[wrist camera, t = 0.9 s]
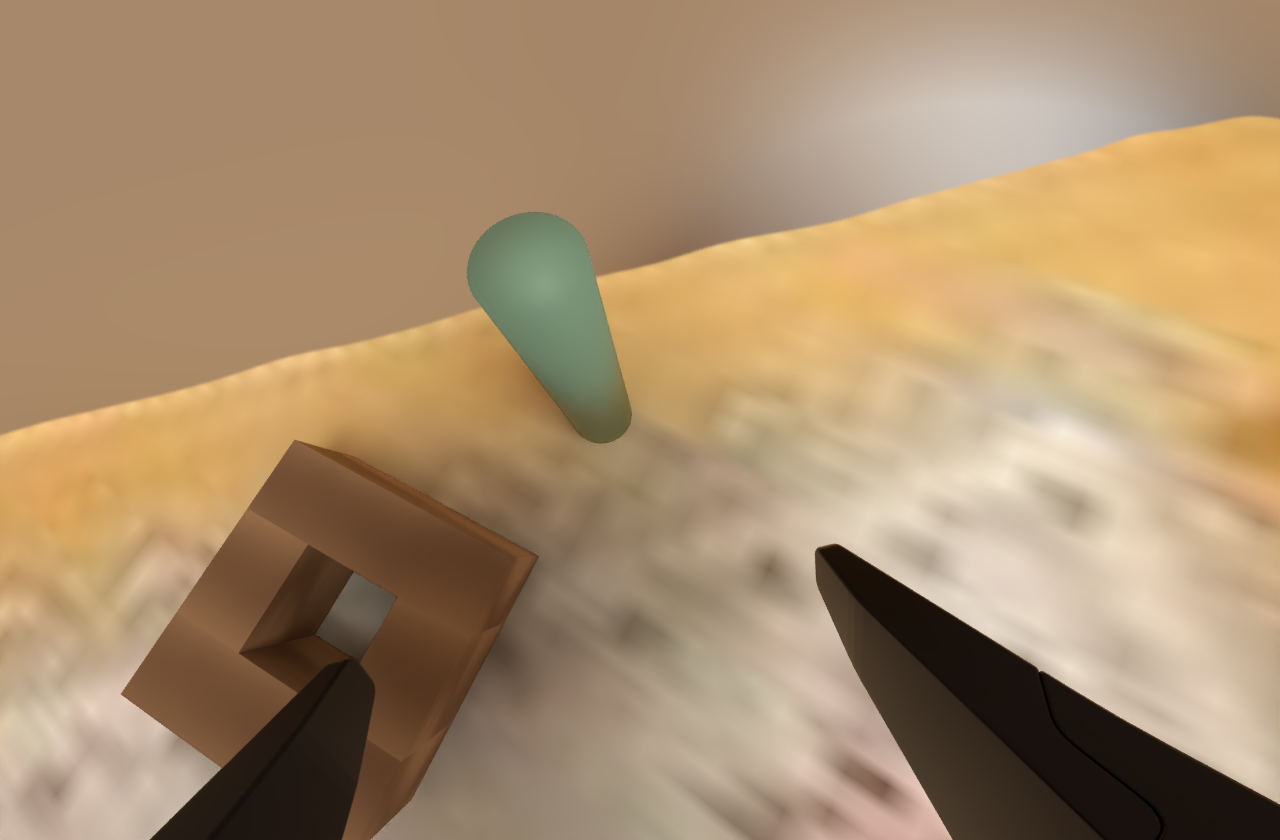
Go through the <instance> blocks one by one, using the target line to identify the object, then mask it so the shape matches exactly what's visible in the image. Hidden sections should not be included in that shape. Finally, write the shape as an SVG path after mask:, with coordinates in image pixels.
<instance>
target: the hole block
mask: <svg viewBox="0 0 1280 840" xmlns="http://www.w3.org/2000/svg"><path fill="white" fill-rule="evenodd" d="M538 557H539V556H537V555H535V554H533V553H531V552H529V551H527V550H526V549H524V548H522V547H520V546H518V545H516V544H514V543H513V542H511V541H509V540H507V539H505V538H503V537H501V536H500V535H498V534H496V533H494V532H492V531H490V530H488V529H487V528H485V527H483V526H481V525H479V524H477V523H475V522H474V521H472V520H470V519H468V518H466V517H464V516H462V515H461V514H459V513H457V512H455V511H453V510H451V509H450V508H448V507H446V506H444V505H442V504H440V503H438V502H437V501H435V500H433V499H431V498H429V497H427V496H425V495H424V494H422V493H420V492H418V491H416V490H414V489H412V488H411V487H409V486H407V485H405V484H403V483H401V482H399V481H398V480H396V479H394V478H392V477H390V476H388V475H386V474H385V473H383V472H381V471H379V470H377V469H375V468H373V467H372V466H370V465H368V464H366V463H364V462H362V461H360V460H359V459H357V458H355V457H352V456H348V455H345V454H341V453H338V452H335V451H331V450H328V449H324V448H321V447H318V446H314V445H311V444H307V443H304V442H301V441H297V440H294V441H293V443H292V444H291V446H290V447H289V449H288V450H287V452H286V453H285V455H284V456H283V457H282V459H281V460H280V462H279V463H278V465H277V466H276V468H275V469H274V471H273V472H272V474H271V475H270V476H269V478H268V479H267V481H266V482H265V484H264V485H263V487H262V488H261V490H260V491H259V493H258V494H257V495H256V497H255V498H254V500H253V501H252V503H251V504H250V506H249V507H248V509H247V510H246V512H245V513H244V515H243V516H242V517H241V519H240V520H239V522H238V523H237V525H236V526H235V528H234V529H233V531H232V532H231V534H230V535H229V536H228V538H227V539H226V541H225V542H224V544H223V545H222V547H221V548H220V550H219V551H218V553H217V554H216V555H215V557H214V558H213V560H212V561H211V563H210V564H209V566H208V567H207V569H206V570H205V572H204V573H203V575H202V576H201V577H200V579H199V580H198V582H197V583H196V585H195V586H194V588H193V589H192V591H191V592H190V594H189V595H188V596H187V598H186V599H185V601H184V602H183V604H182V605H181V607H180V608H179V610H178V611H177V613H176V614H175V616H174V617H173V618H172V620H171V621H170V623H169V624H168V626H167V627H166V629H165V630H164V632H163V633H162V635H161V636H160V637H159V639H158V640H157V642H156V643H155V645H154V646H153V648H152V649H151V651H150V652H149V654H148V655H147V656H146V658H145V659H144V661H143V662H142V664H141V665H140V667H139V668H138V670H137V671H136V673H135V674H134V676H133V677H132V678H131V680H130V681H129V683H128V684H127V686H126V687H125V689H124V690H123V692H122V693H121V695H122V696H124V697H125V698H126V699H128V700H129V701H131V702H132V703H133V704H135V705H136V706H137V707H139V708H140V709H142V710H143V711H144V712H146V713H147V714H148V715H150V716H151V717H153V718H154V719H155V720H157V721H158V722H159V723H161V724H162V725H164V726H165V727H166V728H168V729H169V730H170V731H172V732H173V733H175V734H176V735H177V736H179V737H180V738H181V739H183V740H184V741H186V742H187V743H188V744H190V745H191V746H192V747H194V748H195V749H196V750H198V751H199V752H201V753H202V754H203V755H205V756H206V757H207V758H209V759H210V760H212V761H213V762H214V763H216V764H217V765H218V766H220V767H221V768H223V767H224V766H225V765H226V764H227V763H228V762H229V761H230V760H231V759H232V758H233V757H234V756H235V755H236V754H237V753H238V752H239V751H240V750H241V749H242V748H243V747H244V746H245V745H246V744H247V743H248V742H249V741H250V740H251V739H252V738H253V737H254V736H255V735H256V734H257V733H258V732H259V731H260V730H261V729H262V728H263V727H264V726H265V725H266V724H267V723H268V722H269V721H270V720H271V719H272V718H273V717H274V716H275V715H276V714H277V713H278V712H279V711H280V710H281V709H282V708H283V707H284V706H285V705H286V704H287V703H288V702H289V701H290V700H291V699H292V698H293V697H294V696H295V695H296V694H297V693H298V692H299V691H300V690H301V689H302V688H303V687H304V686H305V685H306V684H307V683H308V682H309V681H310V680H311V679H312V678H313V677H314V676H315V675H316V674H317V673H319V672H320V671H321V670H322V669H323V668H324V667H325V666H326V665H327V664H328V663H330V662H332V661H335V660H339V659H343V658H347V657H348V656H347V655H345V654H344V653H342V652H341V651H339V650H337V649H336V648H334V647H333V646H331V645H330V644H328V643H326V642H325V641H323V640H322V639H320V638H318V637H317V636H315V633H316V632H317V630H318V628H319V627H320V625H321V623H322V622H323V620H324V619H325V617H326V615H327V614H328V612H329V610H330V609H331V607H332V605H333V604H334V602H335V601H336V599H337V597H338V596H339V594H340V592H341V591H342V589H343V587H344V586H345V584H346V583H347V581H348V579H349V578H350V576H351V574H352V573H353V571H354V572H356V573H357V574H359V575H361V576H362V577H364V578H366V579H368V580H369V581H371V582H373V583H374V584H376V585H378V586H379V587H381V588H383V589H384V590H386V591H388V592H389V593H391V594H393V595H395V596H396V597H398V598H397V600H396V601H395V603H394V605H393V607H392V608H391V610H390V612H389V614H388V615H387V617H386V619H385V620H384V622H383V624H382V626H381V627H380V629H379V631H378V632H377V634H376V636H375V638H374V639H373V641H372V643H371V644H370V646H369V648H368V650H367V651H366V653H365V655H364V657H363V658H362V660H361V662H360V664H361V665H362V667H363V668H364V669H365V671H366V672H367V673H368V674H369V676H370V677H371V678H372V680H373V681H374V684H375V689H376V691H375V700H374V705H373V710H372V715H371V720H370V726H369V731H368V736H367V741H366V746H365V751H364V757H363V762H362V767H361V772H360V776H359V781H358V785H357V789H356V793H355V796H354V800H353V804H352V807H351V811H350V814H349V818H348V821H347V825H346V828H345V832H344V835H343V839H342V840H370V839H371V838H372V837H373V836H374V835H375V834H376V833H377V832H378V831H379V830H380V829H382V828H383V827H384V826H385V825H386V824H387V823H388V822H389V821H390V820H391V819H392V818H393V817H394V816H395V815H396V814H397V813H398V812H399V811H400V810H401V809H402V808H403V807H404V806H405V805H406V804H407V803H408V802H409V801H410V800H411V799H412V797H413V795H414V794H415V792H416V790H417V788H418V786H419V784H420V782H421V780H422V778H423V776H424V774H425V773H426V771H427V769H428V767H429V765H430V763H431V761H432V759H433V757H434V755H435V753H436V752H437V750H438V748H439V746H440V744H441V742H442V740H443V738H444V736H445V734H446V732H447V731H448V729H449V727H450V725H451V723H452V721H453V719H454V717H455V715H456V713H457V711H458V710H459V708H460V706H461V704H462V702H463V700H464V698H465V696H466V694H467V692H468V690H469V689H470V687H471V685H472V683H473V681H474V679H475V677H476V675H477V673H478V671H479V669H480V668H481V666H482V664H483V662H484V660H485V658H486V656H487V654H488V652H489V650H490V648H491V647H492V645H493V643H494V641H495V639H496V637H497V635H498V633H499V631H500V629H501V627H502V626H503V624H504V622H505V620H506V618H507V616H508V614H509V612H510V610H511V608H512V606H513V605H514V603H515V601H516V599H517V597H518V595H519V593H520V591H521V589H522V587H523V585H524V584H525V582H526V580H527V578H528V576H529V574H530V572H531V570H532V568H533V566H534V564H535V563H536V561H537V559H538Z"/></svg>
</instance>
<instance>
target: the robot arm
mask: <svg viewBox="0 0 1280 840" xmlns="http://www.w3.org/2000/svg"><path fill="white" fill-rule="evenodd" d="M815 568H816V582H817V586H818V588H819V591H820V593H821V596H822V598H823V600H824V602H825V605H826V607H827V609H828V611H829V614H830V616H831V618H832V620H833V622H834V625H835V627H836V629H837V631H838V634H839V636H840V638H841V640H842V643H843V645H844V647H845V649H846V652H847V654H848V656H849V658H850V660H851V662H852V665H853V667H854V669H855V671H856V672H857V674H858V676H859V678H860V680H861V682H862V683H863V685H864V687H865V688H866V690H867V692H868V694H869V695H870V697H871V699H872V701H873V702H874V704H875V706H876V708H877V709H878V711H879V713H880V714H881V716H882V718H883V720H884V721H885V723H886V725H887V727H888V728H889V730H890V732H891V734H892V735H893V737H894V739H895V740H896V742H897V744H898V746H899V747H900V749H901V751H902V753H903V754H904V756H905V758H906V760H907V761H908V763H909V765H910V766H911V768H912V770H913V772H914V773H915V775H916V777H917V779H918V780H919V782H920V784H921V786H922V787H923V789H924V791H925V792H926V794H927V796H928V798H929V799H930V801H931V803H932V805H933V806H934V808H935V810H936V812H937V813H938V815H939V817H940V818H941V820H942V822H943V824H944V825H945V827H946V829H947V831H948V832H949V834H950V836H951V838H952V839H953V840H1280V804H1278V803H1276V802H1274V801H1272V800H1270V799H1269V798H1267V797H1265V796H1263V795H1261V794H1259V793H1257V792H1256V791H1254V790H1252V789H1250V788H1248V787H1246V786H1244V785H1243V784H1241V783H1239V782H1237V781H1235V780H1233V779H1231V778H1230V777H1228V776H1226V775H1224V774H1222V773H1220V772H1218V771H1217V770H1215V769H1213V768H1211V767H1209V766H1207V765H1205V764H1204V763H1202V762H1200V761H1198V760H1196V759H1194V758H1192V757H1191V756H1189V755H1187V754H1185V753H1183V752H1181V751H1179V750H1178V749H1176V748H1174V747H1172V746H1170V745H1168V744H1167V743H1165V742H1163V741H1161V740H1159V739H1158V738H1156V737H1154V736H1152V735H1150V734H1149V733H1147V732H1145V731H1143V730H1141V729H1140V728H1138V727H1136V726H1134V725H1133V724H1131V723H1129V722H1127V721H1125V720H1124V719H1122V718H1120V717H1118V716H1116V715H1115V714H1113V713H1111V712H1110V711H1108V710H1106V709H1105V708H1103V707H1101V706H1100V705H1098V704H1096V703H1095V702H1093V701H1091V700H1090V699H1088V698H1086V697H1085V696H1083V695H1081V694H1080V693H1078V692H1076V691H1075V690H1073V689H1071V688H1070V687H1068V686H1066V685H1065V684H1063V683H1062V682H1060V681H1058V680H1057V679H1055V678H1054V677H1052V676H1050V675H1049V674H1047V673H1046V672H1044V671H1040V672H1039V671H1038V669H1037V667H1035V666H1034V665H1032V664H1031V663H1029V662H1027V661H1026V660H1024V659H1023V658H1021V657H1019V656H1018V655H1016V654H1015V653H1013V652H1011V651H1010V650H1008V649H1007V648H1005V647H1003V646H1002V645H1000V644H999V643H997V642H995V641H994V640H992V639H990V638H989V637H987V636H986V635H984V634H982V633H981V632H979V631H978V630H976V629H974V628H973V627H971V626H970V625H968V624H966V623H965V622H963V621H962V620H960V619H958V618H957V617H955V616H953V615H952V614H950V613H949V612H947V611H945V610H944V609H942V608H941V607H939V606H937V605H936V604H934V603H933V602H931V601H929V600H928V599H926V598H925V597H923V596H921V595H920V594H918V593H916V592H915V591H913V590H912V589H910V588H908V587H907V586H905V585H904V584H902V583H900V582H899V581H897V580H896V579H894V578H892V577H891V576H889V575H888V574H886V573H884V572H883V571H881V570H879V569H878V568H876V567H875V566H873V565H871V564H870V563H868V562H867V561H865V560H863V559H862V558H860V557H859V556H857V555H855V554H854V553H852V552H850V551H849V550H847V549H846V548H844V547H842V546H841V545H838V544H830V545H826V546H822V547H818V548H817V549H816V551H815ZM375 691H376V689H375V684H374V681H373V680H372V678H371V677H370V676H369V674H368V673H367V672H366V671H365V669H364V668H363V667H362V665H361V664H360V663H359V661H358V660H357V659H356V658H353V657H347V658H343V659H339V660H335V661H332V662H330V663H328V664H327V665H326V666H325V667H324V668H323V669H322V670H321V671H320V672H319V673H317V674H316V675H315V676H314V677H313V678H312V679H311V680H310V681H309V682H308V683H307V684H306V685H305V686H304V687H303V688H302V689H301V690H300V691H299V692H298V693H297V694H296V695H295V696H294V697H293V698H292V699H291V700H290V701H289V702H288V703H287V704H286V705H285V706H284V707H283V708H282V709H281V710H280V711H279V712H278V713H277V714H276V715H275V716H274V717H273V718H272V719H271V720H270V721H269V722H268V723H267V724H266V725H265V726H264V727H263V728H262V729H261V730H260V731H259V732H258V733H257V734H256V735H255V736H254V737H253V738H252V739H251V740H250V741H249V742H248V743H247V744H246V745H245V746H244V747H243V748H242V749H241V750H240V751H239V752H238V753H237V754H236V755H235V756H234V757H233V758H232V759H231V760H230V761H229V762H228V763H227V764H226V765H225V766H224V767H223V768H222V769H221V770H220V771H219V772H218V773H217V774H216V775H215V776H214V777H213V778H212V779H211V780H210V781H208V782H207V783H206V784H205V785H204V786H203V787H202V788H201V789H200V790H199V791H198V792H197V793H196V794H195V795H194V796H193V797H192V798H191V799H190V800H189V801H188V802H187V803H186V804H185V805H184V806H183V807H182V808H181V809H180V810H179V811H178V812H177V813H176V814H175V815H174V816H173V817H172V818H171V819H170V820H169V821H168V822H167V823H166V824H165V825H164V826H163V827H162V828H161V829H160V830H159V831H158V832H157V833H156V834H155V835H154V836H153V837H152V838H151V839H150V840H342V839H343V835H344V832H345V828H346V825H347V821H348V818H349V814H350V811H351V807H352V804H353V800H354V796H355V793H356V789H357V785H358V781H359V776H360V772H361V767H362V762H363V757H364V751H365V746H366V741H367V736H368V731H369V726H370V720H371V715H372V710H373V705H374V700H375Z"/></svg>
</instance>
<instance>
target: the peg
mask: <svg viewBox="0 0 1280 840" xmlns="http://www.w3.org/2000/svg"><path fill="white" fill-rule="evenodd" d="M467 279H468V284H469V287H470V290H471V292H472V294H473V296H474V297H475V299H476V300H477V301H478V303H479V304H480V305H481V307H482V308H483V309H484V310H485V312H486V313H487V314H488V316H489V317H490V318H491V320H492V321H493V322H494V323H495V325H496V326H497V327H498V329H499V330H500V331H501V332H502V334H503V335H504V336H505V338H506V339H507V340H508V342H509V343H510V344H511V345H512V347H513V348H514V349H515V351H516V352H517V353H518V354H519V356H520V357H521V358H522V360H523V361H524V362H525V364H526V365H527V366H528V367H529V369H530V370H531V371H532V373H533V374H534V375H535V377H536V378H537V379H538V380H539V382H540V383H541V384H542V386H543V387H544V388H545V389H546V391H547V392H548V393H549V395H550V396H551V397H552V399H553V400H554V401H555V402H556V404H557V405H558V406H559V408H560V409H561V410H562V412H563V413H564V414H565V415H566V417H567V418H568V419H569V421H570V422H571V423H572V424H573V426H574V427H575V428H576V430H577V431H578V432H579V434H580V435H581V436H582V437H584V438H585V439H587V440H589V441H591V442H594V443H608V442H612V441H614V440H616V439H618V438H619V437H620V436H622V435H623V434H624V433H625V431H626V430H627V428H628V427H629V424H630V421H631V416H632V412H631V406H630V403H629V399H628V395H627V392H626V388H625V384H624V381H623V377H622V373H621V369H620V366H619V362H618V358H617V355H616V351H615V347H614V344H613V340H612V336H611V332H610V329H609V325H608V321H607V318H606V314H605V310H604V307H603V303H602V299H601V296H600V292H599V288H598V284H597V281H596V277H595V273H594V270H593V266H592V263H591V259H590V255H589V251H588V248H587V244H586V242H585V240H584V238H583V236H582V235H581V233H580V232H579V231H578V230H577V229H576V228H575V227H574V226H573V225H572V224H571V223H569V222H568V221H566V220H564V219H562V218H560V217H558V216H555V215H552V214H548V213H541V212H528V213H521V214H517V215H513V216H510V217H508V218H505V219H503V220H501V221H499V222H498V223H496V224H495V225H493V226H492V227H491V228H489V229H488V230H487V231H486V232H485V233H484V234H483V235H482V236H481V237H480V239H479V240H478V241H477V242H476V244H475V246H474V248H473V249H472V252H471V254H470V257H469V261H468V266H467Z"/></svg>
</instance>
